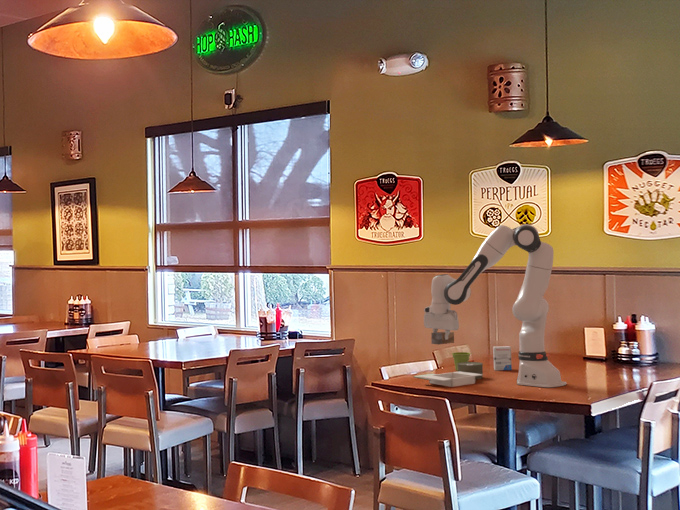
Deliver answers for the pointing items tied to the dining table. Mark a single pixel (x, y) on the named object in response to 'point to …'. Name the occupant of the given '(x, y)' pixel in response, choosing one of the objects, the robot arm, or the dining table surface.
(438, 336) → the walnut box
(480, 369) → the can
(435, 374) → the sage mat
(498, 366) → the ink box
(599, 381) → the dining table surface
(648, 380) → the dining table surface
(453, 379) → the grey tray
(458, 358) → the plant pot
